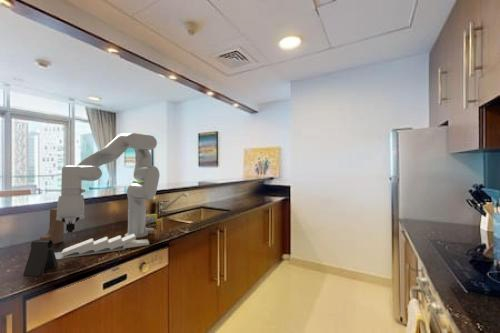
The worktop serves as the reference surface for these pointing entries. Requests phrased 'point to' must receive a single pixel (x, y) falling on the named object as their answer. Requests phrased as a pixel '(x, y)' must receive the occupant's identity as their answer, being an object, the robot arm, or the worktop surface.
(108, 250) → the mat
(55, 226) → the wooden block
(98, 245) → the domino
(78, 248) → the domino
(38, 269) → the phone stand
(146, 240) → the domino
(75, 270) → the worktop surface
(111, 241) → the domino
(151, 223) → the candy box
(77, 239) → the worktop surface
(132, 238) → the domino
